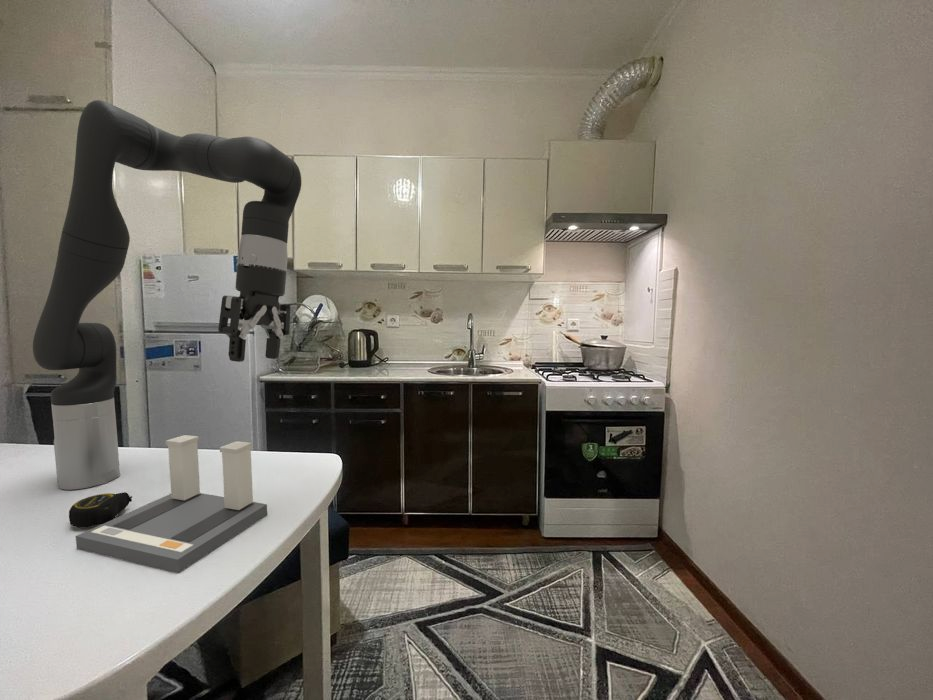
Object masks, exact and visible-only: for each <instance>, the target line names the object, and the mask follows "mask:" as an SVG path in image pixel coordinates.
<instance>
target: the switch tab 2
mask: <svg viewBox="0 0 933 700" xmlns="http://www.w3.org/2000/svg"><path fill="white" fill-rule="evenodd" d="M252 448H253V442H247V441H238V440H237V441H236V440H235V441H233V442H231V443H228V444H226V445H222V446H219V453H221V457H222V459H221V460H222V461H221V462H222V478H223V481H222V482H223V497H224V502H225V508H229V509H235V510H240V509H242V508H244V507H245V506H247V505H249V504H250V503H252V502H254V496H253V491H254V490H253V475H252V474H253V472H252V450H251V449H252Z"/></svg>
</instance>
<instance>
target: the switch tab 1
mask: <svg viewBox="0 0 933 700" xmlns="http://www.w3.org/2000/svg"><path fill="white" fill-rule="evenodd" d="M199 441H200V437H199V436H196V435H188V434H184V435H180V436H177V437H174V438H169V439H166V440H165V445H166V446H167V448H168V450H167V451H168V461H169V462H168V465H169V479H170V480H169V481H170V494H171V498H173V499H179V500H187V499H189V498H191V497H193V496H195V495H197V494H199V493H201V487H200V486H201V485H200V472H199V471H200V470H199V467H200V466H199V451H198V442H199Z"/></svg>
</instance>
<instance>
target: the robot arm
mask: <svg viewBox="0 0 933 700" xmlns="http://www.w3.org/2000/svg"><path fill="white" fill-rule="evenodd" d="M75 145H76V146H75V158H74V167H73V168H74V169H73V178H72V186H71V191H70V195H69V201H68V206H67V207H68V208H67V210H66V216H65V219H64V222H63V226H62V230H61V234H60V240H59V244H58V250H57V258H56V262H55V268H54V272H53V276H52V279H51V281H52V282H51V284H50V289H49V291H48V295H47V298H46V301H45V303H44V306H43V309H42V312H41V315H40V316H39V320H38V323H37V326H36V327H35V333H34V335H33V339H32V354H33V357H34V360H35V362H36V363H37V364H38V366H39V367H41V368H43V369H45V370H48V371H65V370H77V369H78V373H77V374H76V376H74V377H73V378H72V379H70V380H68V381H67V382H65V383H63V384H61V385H59V386H57V387H55V388H54V389H52V390H51V392H50V403H51V415H52V422H53V423H52V424H53V425H52V426H53V435H54V437H53V438H54V439H53V447H54V449H53V450H54V460H55V470H56V481H57V484H58V489H59V488H60V489H61V490H66V491H67V490H68V491H70V490H79V489H80V490H81V489H86V488H87V489H88V488H92V487H96V486H99V485H102V484H105V483H108V482H111V481H113V480H115V479H117V478H119V476H120V475H121V473H120V472H121V470H120V469H121V468H120V457H119V455H120V454H119V443H118V431H117V419H116V418H117V417H116V408H115V407H116V406H115V389H116V386H117V382H118V381H117V378H118V376H117V343H116V339H115V335H114V334H113V331H112V330H111V328H109V327H108V326H107V325H105V324H103V323H100V322H99V323H97V322H81V317H82V316H83V313H84V311H85V310H86V308H87V306H88V305H89V304H90V303H91V302H92V301H93V300H94V299H95V298H96V297H97V296H98V295H99V294H101V293H102V291H104V289H106V288H107V287H108V286H109V285H110V284H111V283H112V282H113V281H114V280H115V279H117V277H118V276H119V275H120V274H121V272H122V271H123V268H124V267H125V262H126V258H127V255H128V251H129V246H130V242H131V241H130V239H131V238H130V232H129V229H128V227H127V224H126V222H125V219H124V216H123V215H122V212H121V210H120V208H119V206H118V204H117V201H116V199H115V195H114V190H113V189H114V188H113V177H114V170H115V165H116V163H117V164H121V165H123V166H125V167H129V168H132V169H135V170H141V171H153V172H154V171H155V172H156V171H157V172H158V171H164V172H166V171H172V172H182V173H189V174H193V175H196V176H199V177H204V178H207V179H208V178H209V179H212V180H218V181H220V182H221V181H222V182H226V183H233V184H234V183H235V184H236V183H237V184H239V183H244V182H248V183H249V184H252V185H255V186H257V187H258V188H260V189H262V190H263V191H264V192H263V197H262V199H261V200H252V201H247V203H245V204H244V206H243V210H242V220H241V222H242V223H241V234H240V241H239V245H238V249H237V263H236V272H235V273H236V276H235V290H236V291H238V292H239V296H235V295H223V296H222V297H221V305H220V313H219V319H218V321H219V322H218V328H217V329H218V330H217V331H218V332H219V333H220V334H224V335H226V336H227V337H228V338H229V343H228V358H229V360H230V361H231V362H238V363H240V362H245V358H246V346H247V345H246V344H247V343H246V341H247V339H245V338H246V336H247V335H248V333H249V331H251V330H252V329H254V328H255V327H256V326H260V327H261V328H262V329H263V330H264V331H265V334H266V336H267V338H266V344H265V355H264V356H265V358H266V359H271V360H276V359H279V354H280V350H281V349H280V347H281V340H282V339H283V338H284V336H288V335H290V331H291V330H290V328H291V326H290V325H291V304H290V303H282V302H279V301H280V300H279V298H280V297H284V296H285V295H286V293H285V291H286V283H287V271H288V269H287V268H288V258H289V257H288V255H289V254H288V240H289V225H290V224H289V223H290V219H291V216H292V215H293V211H294V210H295V207H296V203H297V200H298V198H299V196H300V193H301V189H302V174H301V170H300V167H299V166H298V164H297V163H296V162H295V161H294V159H292V158H291V157H290V156H288V155H286V154H285V153H284V152H282V151H281V150H279V149H278V148H277V147H275V146H274V145H273V144H271V143H270V142H268V141H266V140H263V139H260V138H258V137H254V136H241V137H240V136H238V137H231V138H226V137H222V136H219V135H212V134H207V133H198V132H197V133H195V132H194V133H188V134H186V135H184V136H179V135H176V134H173V133H171V132H167V131H165V130H163V129H161V128H158V127H157V126H154V125H153V124H151V123H150V122H148V121H147V120H146V119H143V118H142V117H140V116H137V115H135V114H133V113H130V112H129V111H127V110H125V109H122V108H120V107H118V106H116V105H114V104H111V103H109V102H107V101H104V100H102V99H101V100H100V99H97V100H95V99H94V100H92V101H90V102H88V103H87V104H86V106H85V107H84V109H83V110H82V113H81V115H80V117H79V122H78V127H77V132H76V144H75ZM229 319H230V322H229ZM282 323H283V328H282ZM228 324H229V325H228Z"/></svg>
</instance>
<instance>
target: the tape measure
mask: <svg viewBox="0 0 933 700" xmlns="http://www.w3.org/2000/svg"><path fill="white" fill-rule="evenodd" d="M132 498H133V496H130V494H129V493H128V492H125V491H124V492H119V493H101V494H100V493H99V494H96V495H91V496H88V497H85V498H82V499H80V500H77V501H76V502H75V503H74V504H72V505H71V507H70V509H69V511H68V521H69V524H70V525H71V526H72V527H73V528H77V529H78V528H80V529H85V528H86V529H87V528H92V527H97V526H99V525H102V524H104V523H106V522H108V521H111V520H113V519H115V518H117V517H118V515H119V514H120V513H121V512H123V510H125V509H126V508H127V507H128V506H129V504H130V502H133V499H132Z"/></svg>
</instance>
